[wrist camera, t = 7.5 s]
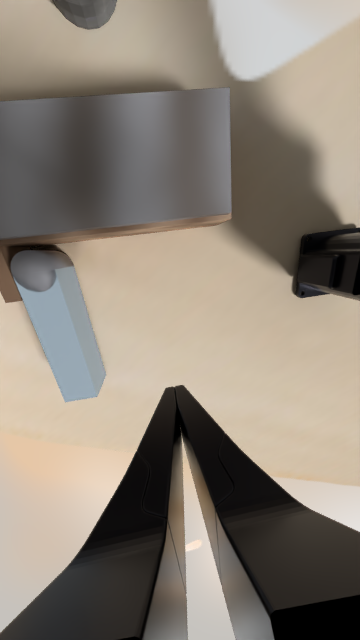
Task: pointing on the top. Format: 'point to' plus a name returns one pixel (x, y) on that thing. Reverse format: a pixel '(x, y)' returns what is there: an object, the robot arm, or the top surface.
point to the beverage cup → (87, 11)
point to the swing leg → (60, 320)
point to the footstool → (110, 168)
